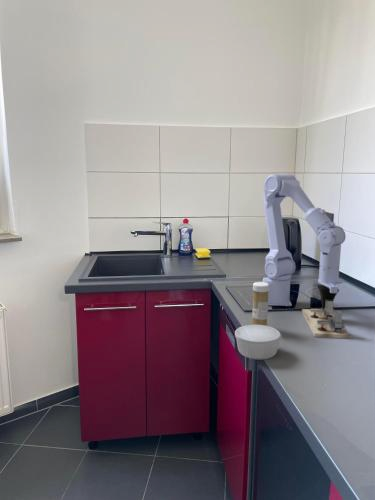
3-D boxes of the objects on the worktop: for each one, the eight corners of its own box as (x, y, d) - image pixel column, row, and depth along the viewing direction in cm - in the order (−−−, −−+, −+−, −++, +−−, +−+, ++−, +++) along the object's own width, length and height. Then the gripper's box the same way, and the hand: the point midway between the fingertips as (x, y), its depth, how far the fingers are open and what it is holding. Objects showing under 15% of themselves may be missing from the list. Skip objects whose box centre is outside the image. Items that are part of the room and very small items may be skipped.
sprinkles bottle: (249, 325, 117) (251, 281, 114) (264, 324, 117) (266, 281, 115) (254, 331, 112) (255, 286, 110) (269, 330, 113) (271, 285, 110)
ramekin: (225, 351, 100) (226, 332, 99) (252, 339, 107) (252, 320, 106) (262, 367, 92) (263, 345, 91) (288, 352, 100) (289, 332, 99)
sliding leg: (311, 317, 119) (312, 301, 118) (309, 314, 122) (310, 298, 121) (335, 318, 119) (336, 302, 118) (332, 315, 122) (333, 299, 121)
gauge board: (314, 336, 109) (315, 329, 108) (302, 311, 128) (302, 306, 128) (348, 338, 108) (349, 331, 107) (330, 312, 127) (330, 307, 127)
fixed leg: (318, 330, 110) (319, 312, 109) (316, 326, 113) (317, 309, 112) (344, 331, 109) (345, 313, 108) (341, 327, 112) (342, 309, 111)
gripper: (350, 272, 112) (346, 317, 115) (336, 261, 127) (333, 301, 129) (324, 271, 113) (321, 316, 116) (314, 261, 127) (311, 301, 130)
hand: (326, 308), depth 122 cm, fingers closed
